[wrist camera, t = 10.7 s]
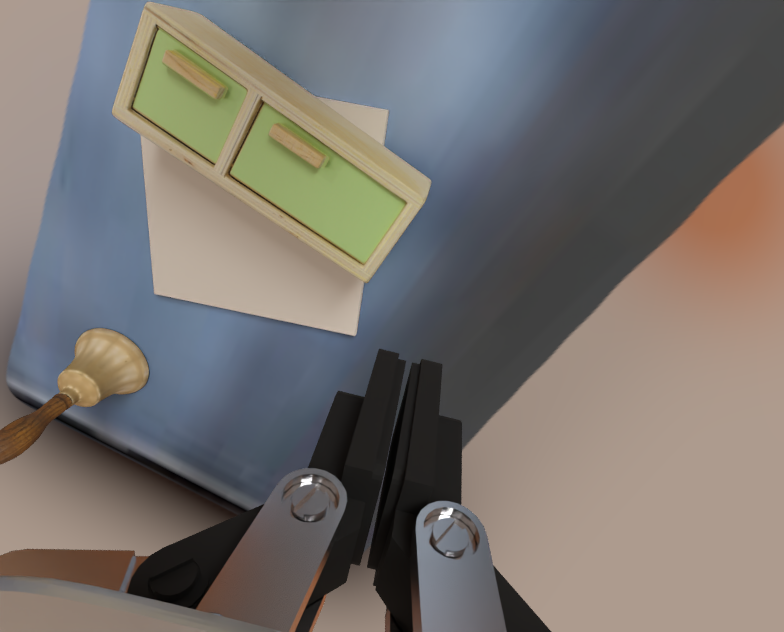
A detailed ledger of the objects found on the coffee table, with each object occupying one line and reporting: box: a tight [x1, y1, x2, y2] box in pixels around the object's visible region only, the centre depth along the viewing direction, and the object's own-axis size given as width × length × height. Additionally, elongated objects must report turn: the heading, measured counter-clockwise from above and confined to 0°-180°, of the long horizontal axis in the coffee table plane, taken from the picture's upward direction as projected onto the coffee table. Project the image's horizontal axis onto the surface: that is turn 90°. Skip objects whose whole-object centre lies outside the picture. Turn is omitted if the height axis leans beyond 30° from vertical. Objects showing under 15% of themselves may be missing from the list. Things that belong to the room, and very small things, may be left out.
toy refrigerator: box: [112, 2, 431, 283], centre depth 34 cm, size 8×7×21 cm
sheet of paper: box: [141, 96, 389, 336], centre depth 41 cm, size 20×20×1 cm
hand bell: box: [0, 328, 149, 464], centre depth 45 cm, size 8×8×16 cm
